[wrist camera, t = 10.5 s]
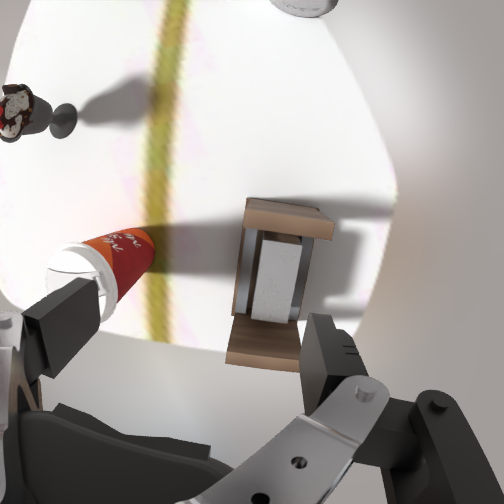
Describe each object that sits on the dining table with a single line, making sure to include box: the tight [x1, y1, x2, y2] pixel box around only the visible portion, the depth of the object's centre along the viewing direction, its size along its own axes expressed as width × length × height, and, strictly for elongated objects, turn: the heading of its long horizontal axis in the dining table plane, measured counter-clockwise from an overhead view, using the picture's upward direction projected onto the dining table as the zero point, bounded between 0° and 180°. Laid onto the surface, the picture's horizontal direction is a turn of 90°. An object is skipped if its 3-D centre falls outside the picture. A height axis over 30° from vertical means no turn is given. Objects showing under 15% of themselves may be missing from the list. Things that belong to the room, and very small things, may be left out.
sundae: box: [0, 84, 76, 143], centre depth 25 cm, size 7×7×15 cm
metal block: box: [251, 230, 302, 324], centre depth 32 cm, size 8×4×6 cm, turn 172°
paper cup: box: [46, 228, 155, 323], centre depth 29 cm, size 8×8×14 cm
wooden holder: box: [225, 198, 335, 373], centre depth 30 cm, size 14×8×11 cm, turn 172°
